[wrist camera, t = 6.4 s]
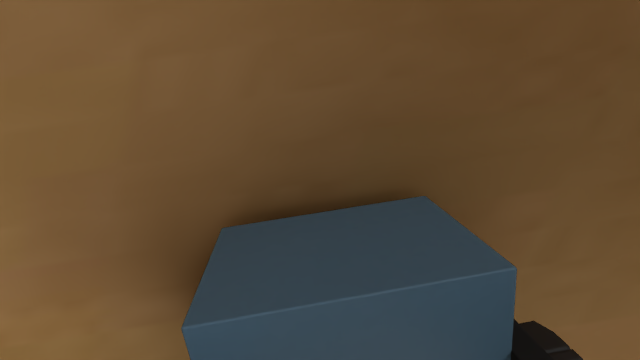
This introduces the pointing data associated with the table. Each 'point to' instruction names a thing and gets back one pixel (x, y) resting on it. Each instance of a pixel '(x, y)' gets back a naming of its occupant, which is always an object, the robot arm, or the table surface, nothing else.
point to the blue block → (354, 289)
